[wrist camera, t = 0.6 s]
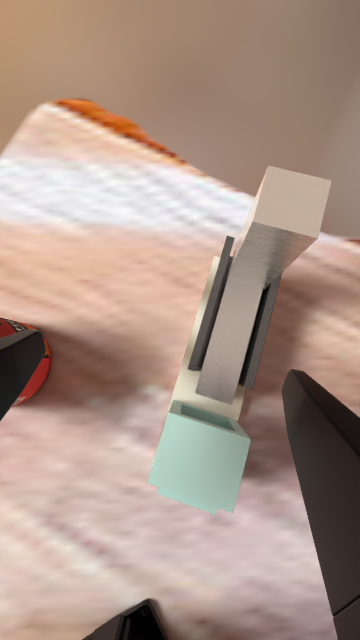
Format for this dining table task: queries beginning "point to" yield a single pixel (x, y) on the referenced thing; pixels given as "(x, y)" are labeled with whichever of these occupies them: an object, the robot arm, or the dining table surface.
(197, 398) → the base board
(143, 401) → the dining table surface
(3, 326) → the canned food
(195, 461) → the socket
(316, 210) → the light grey l-shaped piece
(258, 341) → the sleeve
